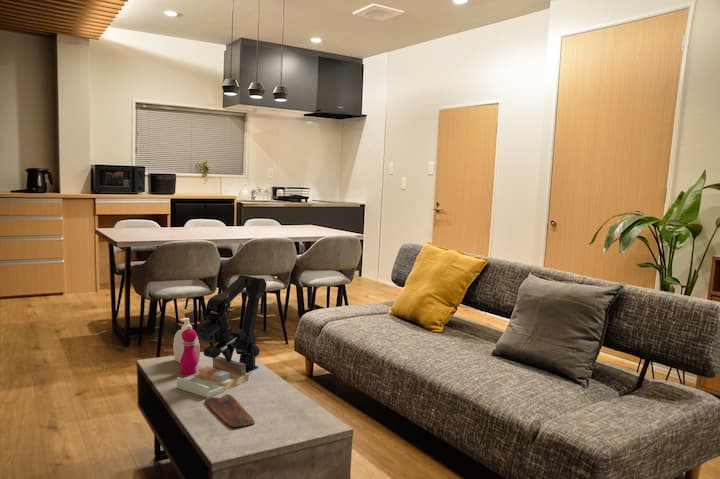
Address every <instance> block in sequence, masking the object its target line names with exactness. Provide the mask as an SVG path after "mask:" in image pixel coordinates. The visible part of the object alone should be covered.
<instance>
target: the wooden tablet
mask: <svg viewBox="0 0 720 479" xmlns="http://www.w3.org/2000/svg"><path fill="white" fill-rule="evenodd" d="M204 401H205V403H206V404H207V406H209V408H210V409H211V410H212V411H213V412H214V413H216V415H217V416H218V417H219V418H221V419H222V421H224V422H225V423H226V424H227V425H228V426H230V427H232V428H235V427H236V428H237V427H245V426H249V425H253V424H256V422H255V419H254V418H253V416H251V414H249V412H247V410H246V409H245V408H244V407H243V406H242V404H240V402H239V401H238V400H237V399H236V398H235V397H234V396H232V395H231V394H224V395H223V396H221V397H215V396H212V397H210V398H205V399H204Z"/></svg>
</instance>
